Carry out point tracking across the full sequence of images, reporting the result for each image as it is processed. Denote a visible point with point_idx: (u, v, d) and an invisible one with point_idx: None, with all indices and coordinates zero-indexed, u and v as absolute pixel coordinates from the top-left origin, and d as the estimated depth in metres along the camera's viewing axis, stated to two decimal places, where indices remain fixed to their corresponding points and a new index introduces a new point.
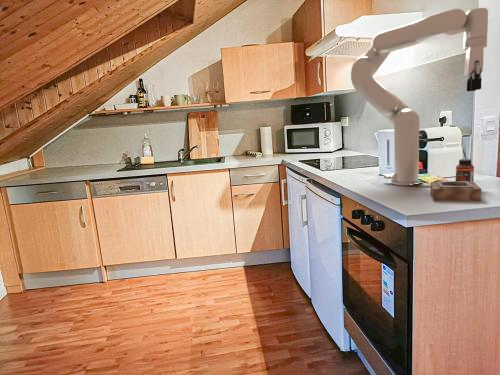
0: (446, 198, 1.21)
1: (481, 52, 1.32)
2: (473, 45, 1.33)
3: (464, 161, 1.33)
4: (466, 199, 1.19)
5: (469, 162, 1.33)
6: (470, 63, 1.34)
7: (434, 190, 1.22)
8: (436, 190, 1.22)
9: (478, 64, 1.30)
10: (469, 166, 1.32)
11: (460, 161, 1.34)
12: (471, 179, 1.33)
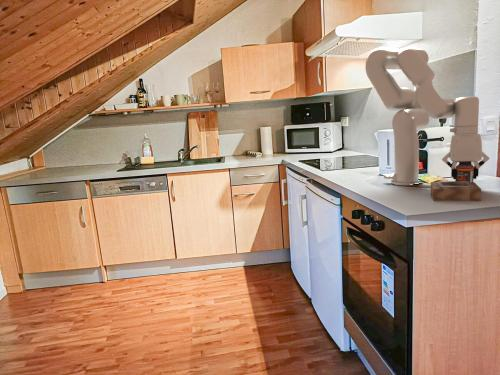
0: (446, 198, 1.21)
1: None
2: (477, 132, 1.30)
3: None
4: (466, 199, 1.19)
5: (469, 162, 1.33)
6: (481, 150, 1.30)
7: (434, 190, 1.22)
8: (436, 190, 1.22)
9: (486, 155, 1.31)
10: (469, 166, 1.32)
11: None
12: (471, 179, 1.33)
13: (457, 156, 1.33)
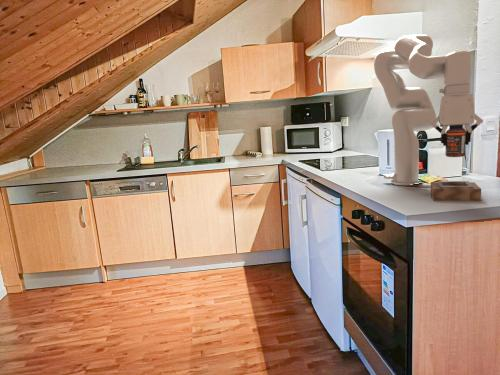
0: (446, 198, 1.21)
1: None
2: (469, 92, 1.17)
3: (455, 125, 1.19)
4: (466, 199, 1.19)
5: (460, 126, 1.19)
6: (474, 112, 1.17)
7: (434, 190, 1.22)
8: (436, 190, 1.22)
9: (480, 118, 1.18)
10: (461, 129, 1.19)
11: None
12: (462, 144, 1.20)
13: (447, 119, 1.19)
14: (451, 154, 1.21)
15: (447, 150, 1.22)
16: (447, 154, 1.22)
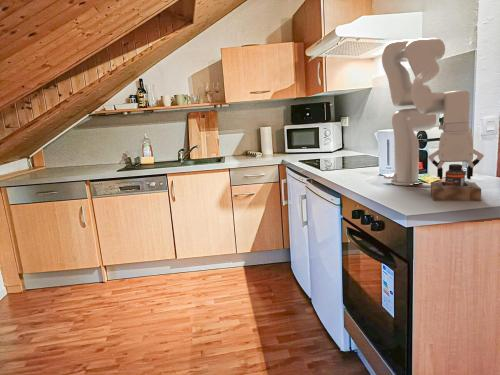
0: (446, 198, 1.21)
1: None
2: (468, 130, 1.19)
3: (454, 167, 1.22)
4: (466, 199, 1.19)
5: (460, 168, 1.22)
6: (473, 149, 1.19)
7: (434, 190, 1.22)
8: (436, 190, 1.22)
9: (480, 153, 1.20)
10: (460, 172, 1.22)
11: (450, 167, 1.23)
12: None
13: (446, 156, 1.22)
14: None
15: None
16: None
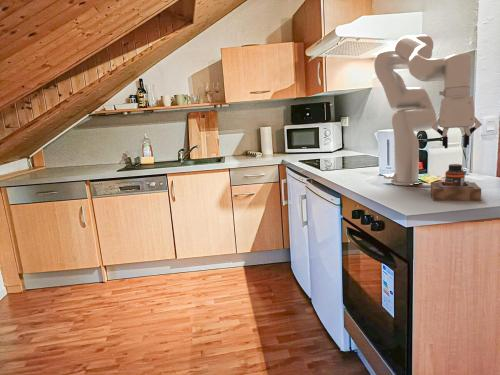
0: (446, 198, 1.21)
1: None
2: (469, 94, 1.17)
3: (454, 167, 1.22)
4: (466, 199, 1.19)
5: (459, 168, 1.22)
6: None
7: (434, 190, 1.22)
8: (436, 190, 1.22)
9: None
10: (460, 172, 1.22)
11: (450, 166, 1.24)
12: None
13: (447, 121, 1.19)
14: None
15: None
16: None
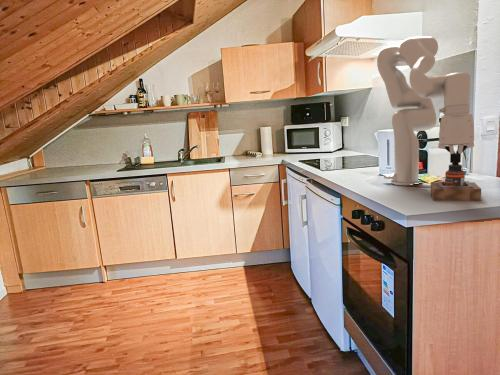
0: (446, 198, 1.21)
1: None
2: None
3: (454, 167, 1.22)
4: (466, 199, 1.19)
5: (459, 168, 1.22)
6: None
7: (434, 190, 1.22)
8: (436, 190, 1.22)
9: (473, 142, 1.20)
10: (460, 172, 1.22)
11: (450, 167, 1.23)
12: None
13: (447, 139, 1.20)
14: None
15: None
16: None
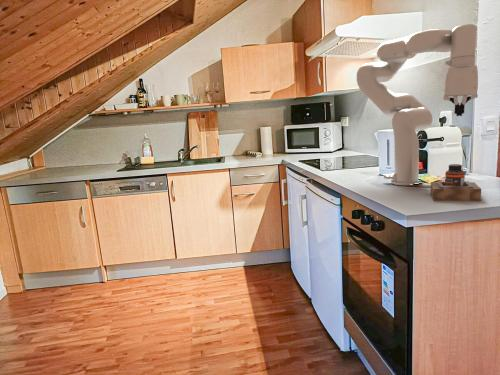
0: (446, 198, 1.21)
1: None
2: None
3: (454, 167, 1.22)
4: (466, 199, 1.19)
5: (459, 168, 1.22)
6: (477, 83, 1.23)
7: (434, 190, 1.22)
8: (436, 190, 1.22)
9: None
10: (460, 172, 1.22)
11: (450, 167, 1.23)
12: None
13: (451, 90, 1.27)
14: None
15: None
16: None
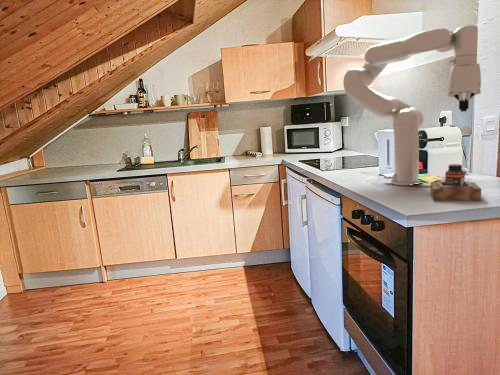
0: (446, 198, 1.21)
1: None
2: (476, 62, 1.32)
3: (454, 167, 1.22)
4: (466, 199, 1.19)
5: (459, 168, 1.22)
6: (480, 79, 1.32)
7: (434, 190, 1.22)
8: (436, 190, 1.22)
9: (479, 89, 1.34)
10: (459, 172, 1.22)
11: (450, 167, 1.23)
12: None
13: (456, 87, 1.34)
14: None
15: None
16: None
